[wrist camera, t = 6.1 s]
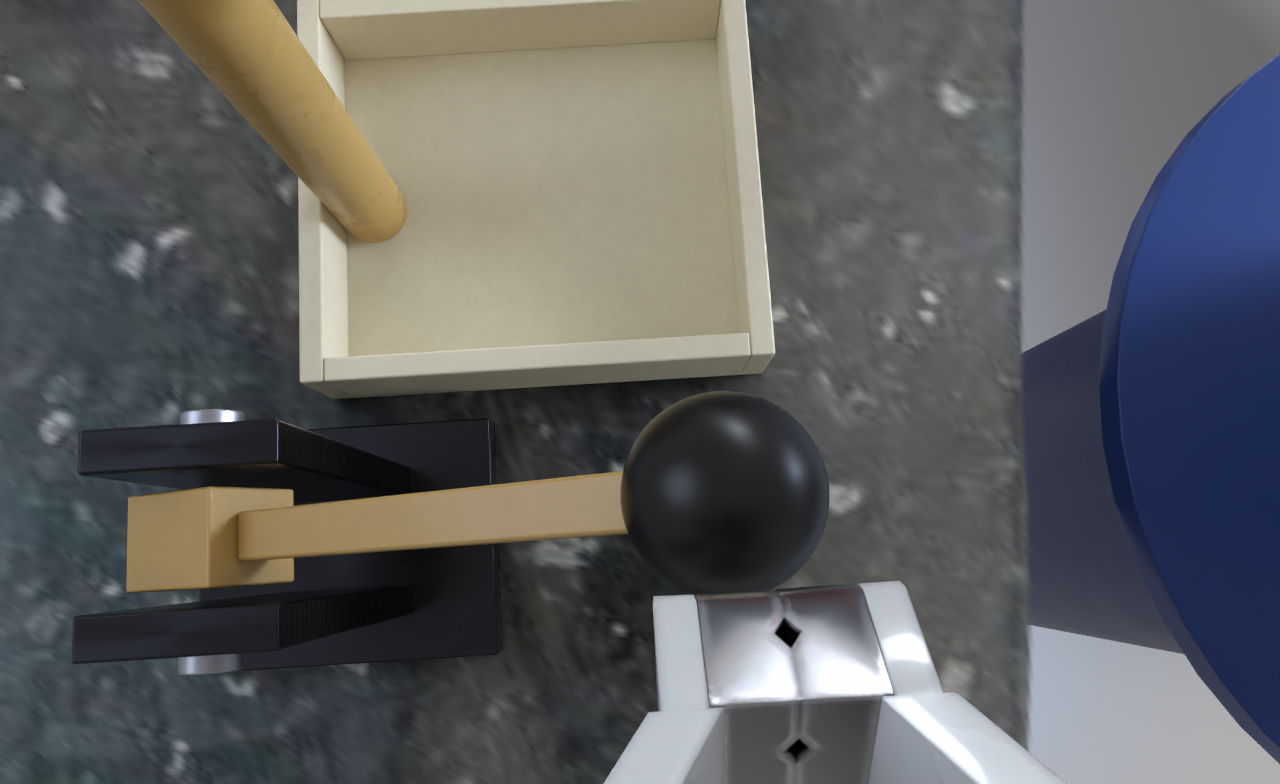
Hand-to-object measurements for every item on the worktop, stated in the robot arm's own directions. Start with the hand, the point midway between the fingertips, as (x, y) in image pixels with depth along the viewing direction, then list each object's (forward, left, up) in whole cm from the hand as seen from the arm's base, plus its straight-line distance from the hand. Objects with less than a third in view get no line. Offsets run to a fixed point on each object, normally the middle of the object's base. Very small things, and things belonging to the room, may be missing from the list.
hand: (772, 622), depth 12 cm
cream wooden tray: (+4, -14, -23) cm, 27 cm away
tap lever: (+5, -2, -10) cm, 11 cm away
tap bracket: (+11, -2, -23) cm, 26 cm away
